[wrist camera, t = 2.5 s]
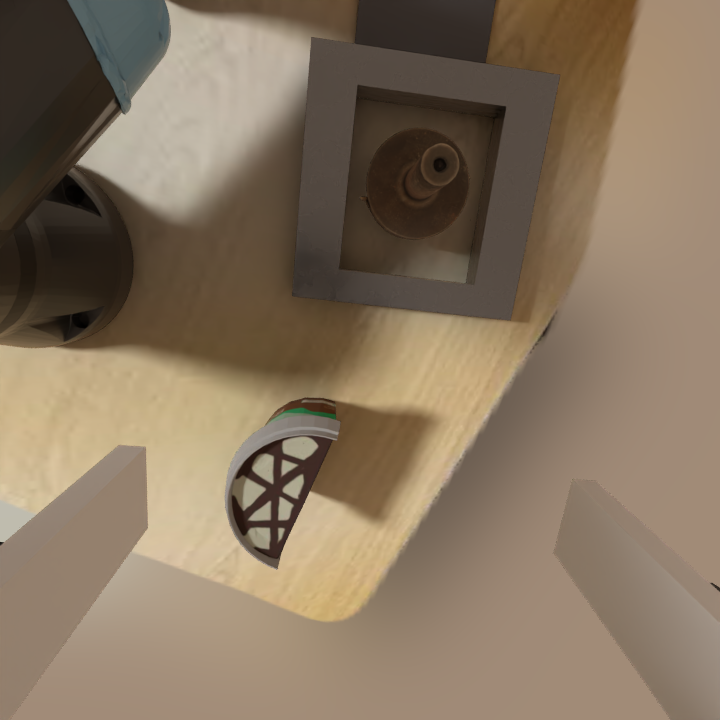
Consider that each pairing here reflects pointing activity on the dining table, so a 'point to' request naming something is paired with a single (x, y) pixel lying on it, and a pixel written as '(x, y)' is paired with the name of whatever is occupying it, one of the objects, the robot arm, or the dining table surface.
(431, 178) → the industrial component
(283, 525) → the food container
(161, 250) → the dining table surface
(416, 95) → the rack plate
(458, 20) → the rubber mat
